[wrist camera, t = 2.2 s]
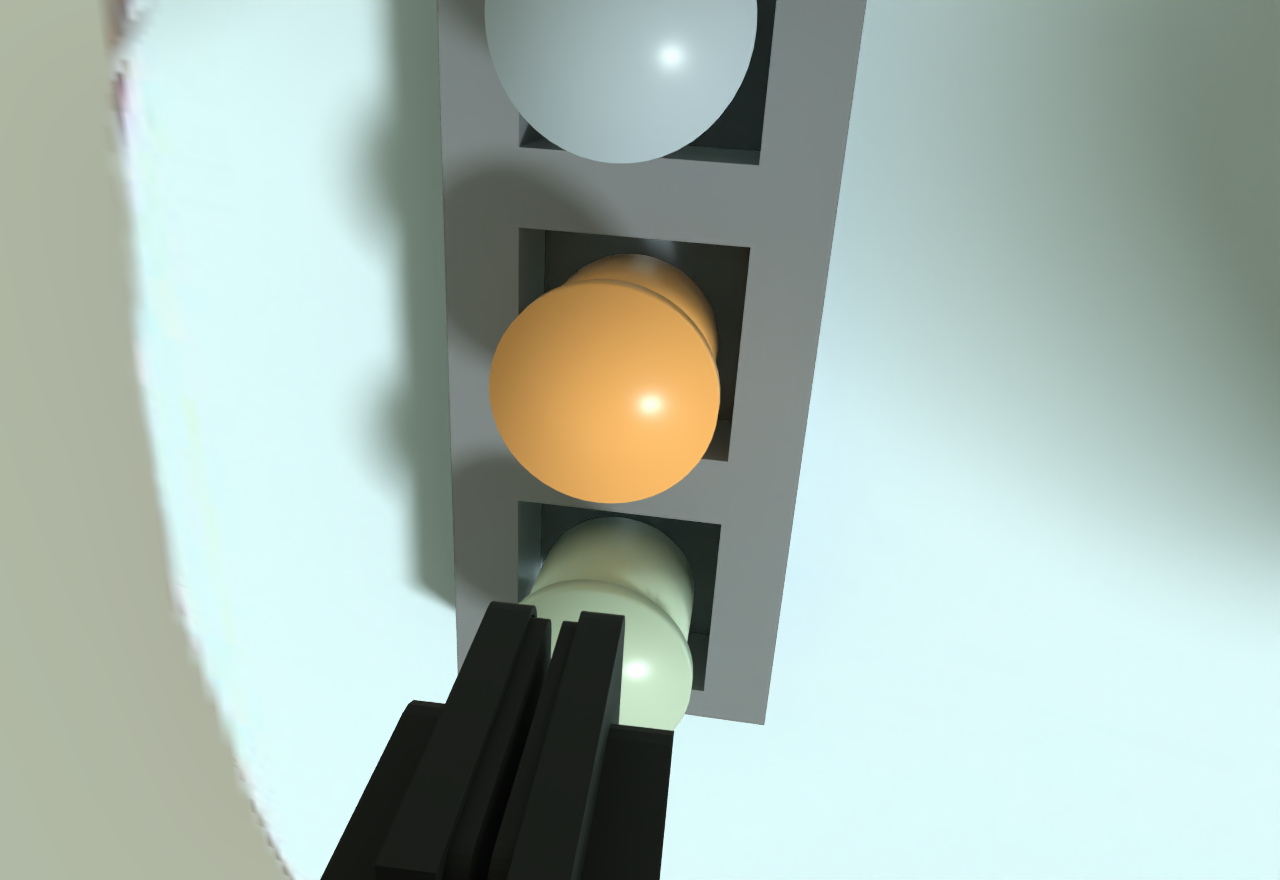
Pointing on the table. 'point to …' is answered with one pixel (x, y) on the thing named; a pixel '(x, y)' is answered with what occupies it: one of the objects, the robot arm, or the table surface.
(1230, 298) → the table surface
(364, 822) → the robot arm
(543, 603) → the plunger green
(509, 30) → the plunger gray
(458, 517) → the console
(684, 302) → the plunger orange
